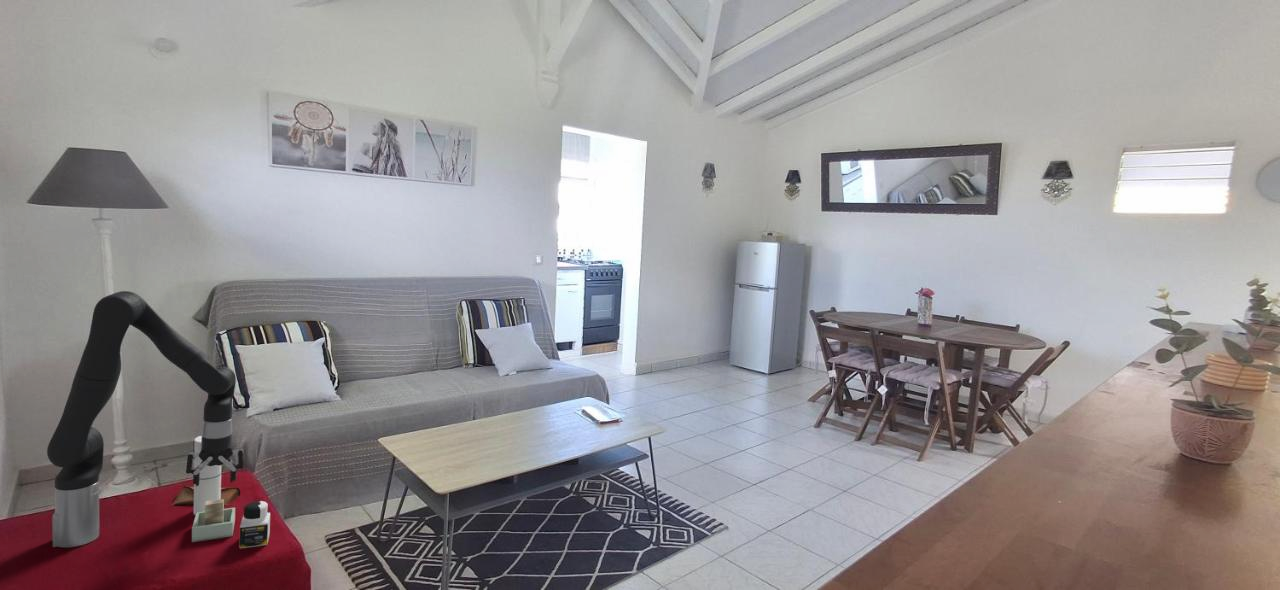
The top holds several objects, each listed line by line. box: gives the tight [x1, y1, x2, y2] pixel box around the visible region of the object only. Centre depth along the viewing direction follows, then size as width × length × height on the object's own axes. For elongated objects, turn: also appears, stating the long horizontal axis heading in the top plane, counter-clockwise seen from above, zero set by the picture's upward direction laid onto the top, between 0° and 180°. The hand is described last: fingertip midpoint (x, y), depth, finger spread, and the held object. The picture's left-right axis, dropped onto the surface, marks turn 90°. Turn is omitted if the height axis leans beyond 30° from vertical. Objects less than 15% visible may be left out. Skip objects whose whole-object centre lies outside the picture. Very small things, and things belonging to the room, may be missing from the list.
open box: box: [191, 507, 236, 543], centre depth 182 cm, size 10×10×4 cm
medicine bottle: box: [238, 500, 271, 549], centre depth 179 cm, size 7×7×12 cm
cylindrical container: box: [193, 435, 222, 516], centre depth 192 cm, size 7×7×25 cm
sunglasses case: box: [171, 485, 241, 507], centre depth 200 cm, size 18×7×7 cm, turn 102°
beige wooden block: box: [205, 499, 225, 525], centre depth 182 cm, size 4×2×9 cm, turn 121°
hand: (214, 483), depth 181 cm, fingers open, 8 cm apart
